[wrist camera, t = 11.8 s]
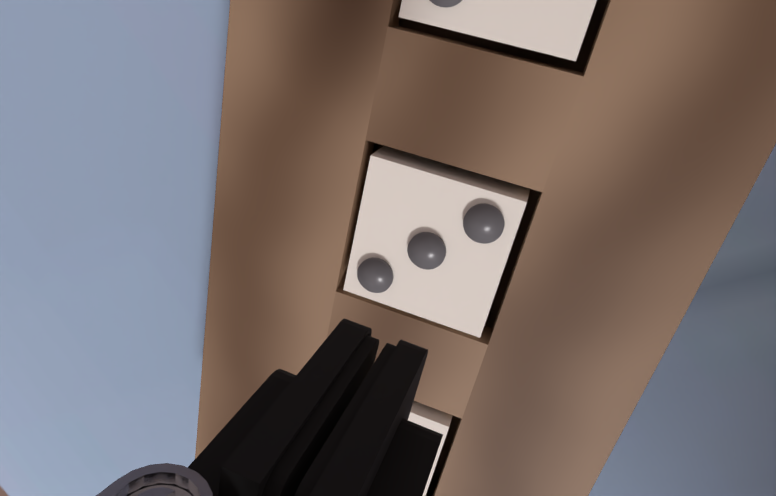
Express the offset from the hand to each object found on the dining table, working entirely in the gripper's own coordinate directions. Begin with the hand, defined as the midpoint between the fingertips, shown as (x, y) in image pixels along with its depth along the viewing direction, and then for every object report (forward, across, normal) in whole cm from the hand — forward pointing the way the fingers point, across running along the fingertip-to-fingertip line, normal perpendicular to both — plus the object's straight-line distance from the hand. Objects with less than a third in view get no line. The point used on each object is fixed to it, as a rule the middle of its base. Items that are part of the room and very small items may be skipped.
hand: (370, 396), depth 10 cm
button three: (+9, +1, 0) cm, 9 cm away
